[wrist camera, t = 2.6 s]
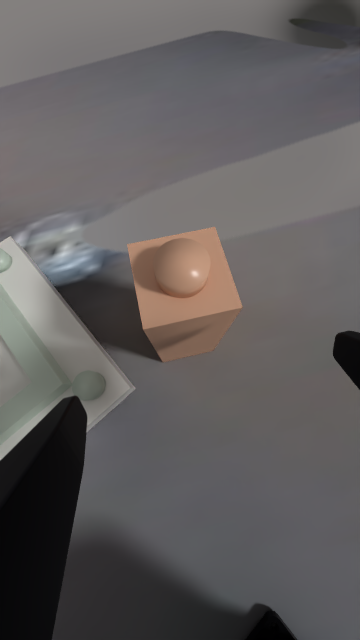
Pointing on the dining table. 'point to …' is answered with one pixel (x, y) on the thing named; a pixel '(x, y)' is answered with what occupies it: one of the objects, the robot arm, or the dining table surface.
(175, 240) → the tall brick
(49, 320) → the base plate
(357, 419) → the dining table surface
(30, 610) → the robot arm
